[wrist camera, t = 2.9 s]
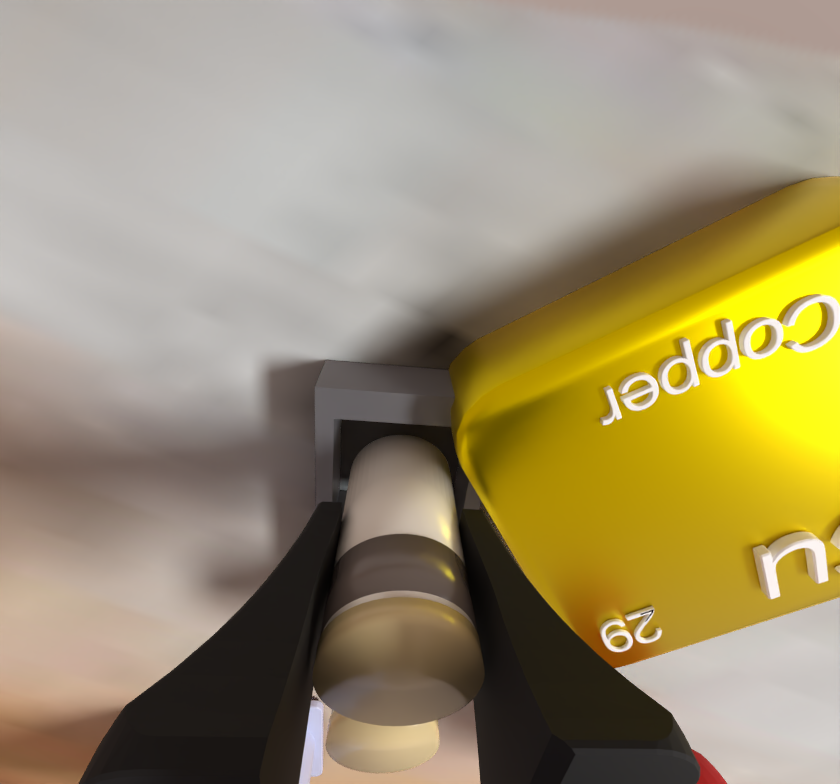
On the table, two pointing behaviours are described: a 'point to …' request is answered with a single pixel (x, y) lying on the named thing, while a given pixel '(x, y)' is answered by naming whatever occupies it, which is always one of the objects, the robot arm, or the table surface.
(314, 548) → the robot arm
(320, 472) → the fuse block
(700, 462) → the element tile
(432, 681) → the fuse
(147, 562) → the table surface
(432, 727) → the cylinder
